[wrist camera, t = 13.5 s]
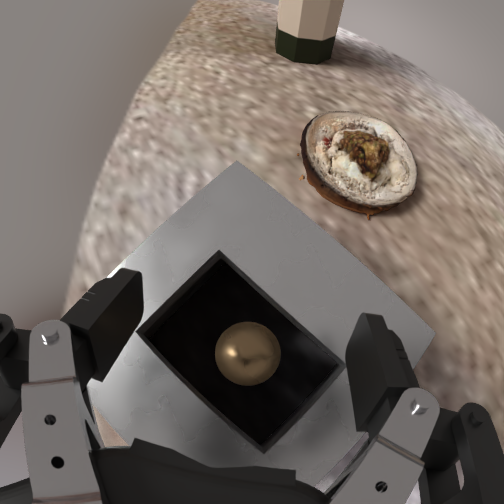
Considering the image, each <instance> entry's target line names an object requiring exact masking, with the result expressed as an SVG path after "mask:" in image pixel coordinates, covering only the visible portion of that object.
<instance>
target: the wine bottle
mask: <svg viewBox="0 0 504 504" xmlns="http://www.w3.org/2000/svg"><path fill="white" fill-rule="evenodd" d="M343 3H344V0H279V7H278V17H277V28H276V39H275V46H276V53H278V54H280V55H281V56H283V57H285V58H287V59H289V60H291V61H293V62H299V63H309V64H319V63H321V62H323V61H325V60H327V59H330V57H331V53H332V49H333V45H334V41H335V36H336V32H337V28H338V24H339V20H340V16H341V12H342V7H343Z"/></svg>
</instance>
